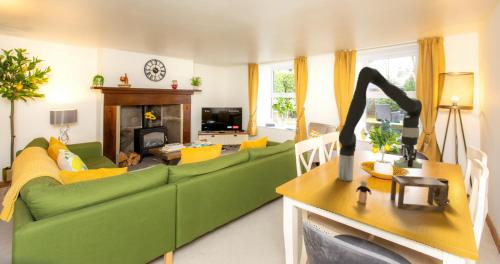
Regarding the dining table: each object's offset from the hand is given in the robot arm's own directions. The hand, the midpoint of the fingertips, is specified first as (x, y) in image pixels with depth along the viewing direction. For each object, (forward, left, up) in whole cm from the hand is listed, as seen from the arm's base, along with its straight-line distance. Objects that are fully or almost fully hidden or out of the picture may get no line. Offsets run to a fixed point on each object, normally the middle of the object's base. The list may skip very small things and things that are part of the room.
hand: (407, 165), depth 137 cm
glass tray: (0, 0, -1) cm, 1 cm away
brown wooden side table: (0, -13, -18) cm, 22 cm away
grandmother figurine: (-26, -15, -18) cm, 35 cm away
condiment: (+16, -4, -18) cm, 25 cm away
